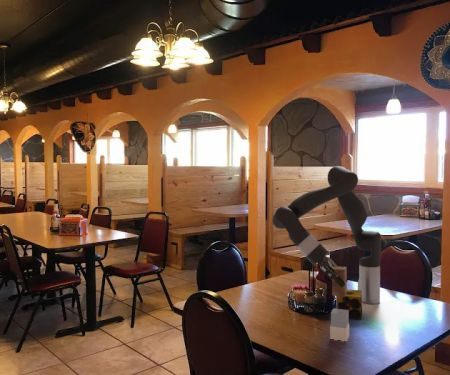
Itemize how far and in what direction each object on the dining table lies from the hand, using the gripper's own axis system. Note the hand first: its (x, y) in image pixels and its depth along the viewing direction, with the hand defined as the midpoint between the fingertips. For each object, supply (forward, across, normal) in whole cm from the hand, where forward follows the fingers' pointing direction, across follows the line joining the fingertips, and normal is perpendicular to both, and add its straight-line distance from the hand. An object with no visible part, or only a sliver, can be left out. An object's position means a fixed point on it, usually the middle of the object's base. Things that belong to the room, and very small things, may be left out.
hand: (344, 284), depth 160 cm
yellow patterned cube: (+13, +26, +16) cm, 34 cm away
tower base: (+13, 0, +16) cm, 21 cm away
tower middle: (+10, 0, +12) cm, 16 cm away
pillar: (+2, 0, +4) cm, 5 cm away
